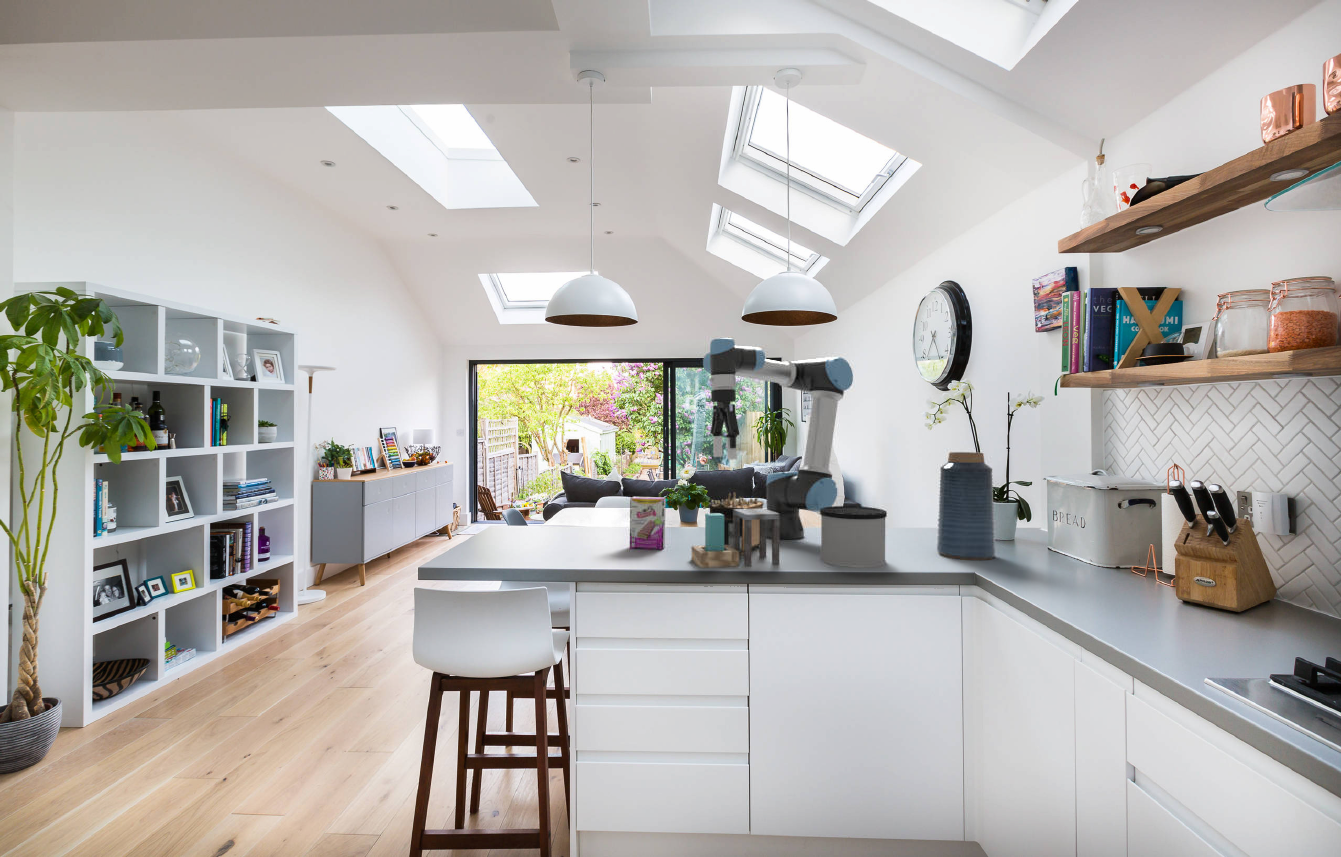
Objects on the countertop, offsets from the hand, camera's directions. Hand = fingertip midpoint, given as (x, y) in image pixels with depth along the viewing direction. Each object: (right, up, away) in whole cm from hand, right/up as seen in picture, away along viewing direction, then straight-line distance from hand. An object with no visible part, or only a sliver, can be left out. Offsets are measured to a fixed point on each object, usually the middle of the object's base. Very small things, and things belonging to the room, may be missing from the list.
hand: (724, 458), depth 196 cm
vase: (+74, -30, 0) cm, 80 cm away
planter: (+5, -30, +8) cm, 31 cm away
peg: (-4, -30, -12) cm, 32 cm away
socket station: (+2, -30, -11) cm, 32 cm away
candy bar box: (-24, -30, +10) cm, 40 cm away
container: (+37, -30, -8) cm, 48 cm away
